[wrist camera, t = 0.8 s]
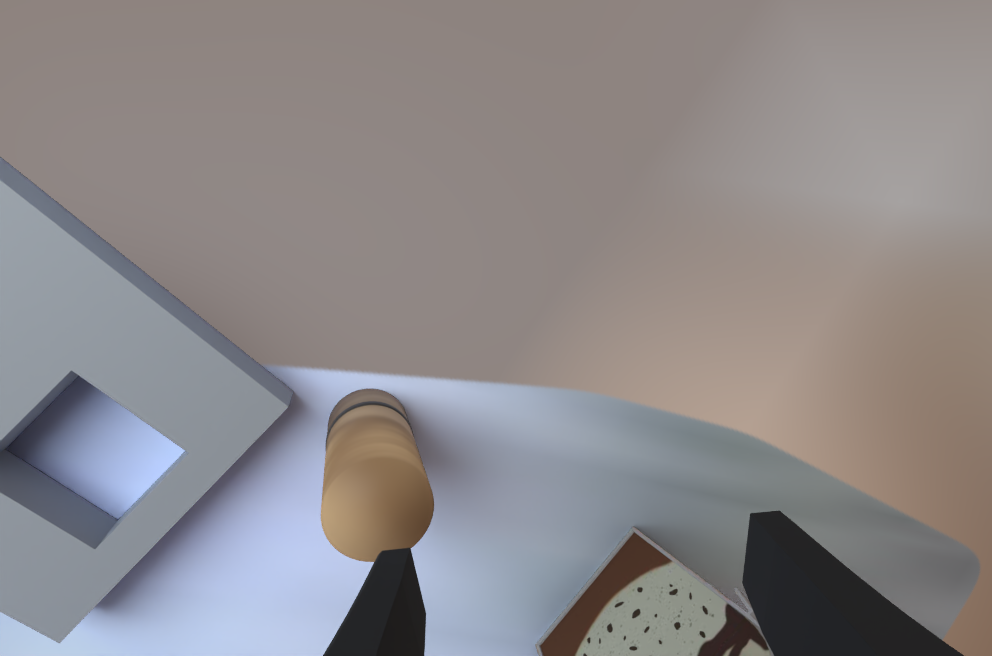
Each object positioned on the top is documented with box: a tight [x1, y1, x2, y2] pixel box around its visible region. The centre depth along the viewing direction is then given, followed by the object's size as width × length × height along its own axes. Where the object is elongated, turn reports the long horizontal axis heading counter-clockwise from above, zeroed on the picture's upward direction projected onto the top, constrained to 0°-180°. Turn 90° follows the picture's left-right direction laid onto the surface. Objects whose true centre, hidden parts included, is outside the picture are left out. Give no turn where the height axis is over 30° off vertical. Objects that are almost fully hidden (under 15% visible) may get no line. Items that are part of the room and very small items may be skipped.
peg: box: [321, 389, 434, 562], centre depth 24 cm, size 4×4×9 cm
